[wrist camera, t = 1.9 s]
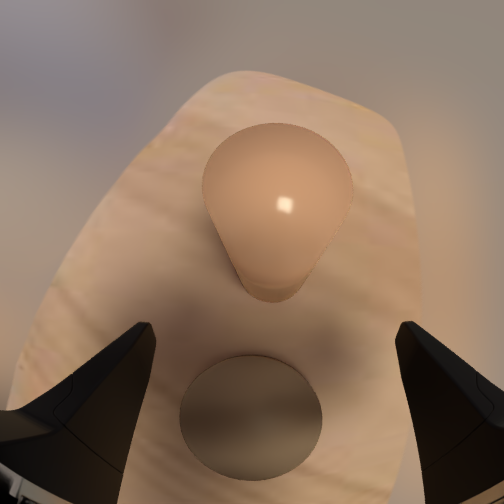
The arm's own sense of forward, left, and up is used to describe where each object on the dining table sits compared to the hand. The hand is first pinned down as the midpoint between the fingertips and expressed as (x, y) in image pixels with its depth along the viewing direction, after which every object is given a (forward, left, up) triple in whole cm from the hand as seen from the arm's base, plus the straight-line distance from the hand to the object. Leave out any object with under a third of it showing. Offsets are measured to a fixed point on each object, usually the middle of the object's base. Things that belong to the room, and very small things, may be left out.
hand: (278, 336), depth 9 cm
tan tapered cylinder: (+5, -1, -12) cm, 13 cm away
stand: (-6, +3, -11) cm, 13 cm away
